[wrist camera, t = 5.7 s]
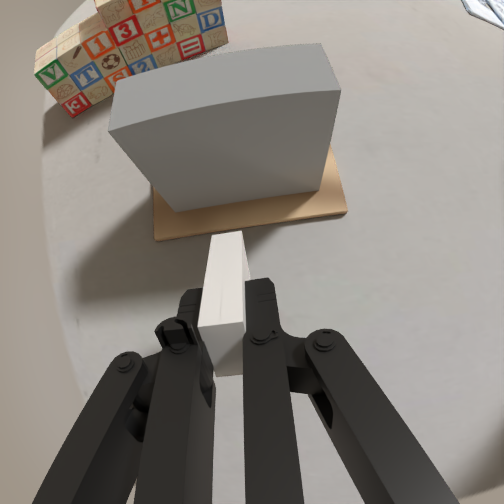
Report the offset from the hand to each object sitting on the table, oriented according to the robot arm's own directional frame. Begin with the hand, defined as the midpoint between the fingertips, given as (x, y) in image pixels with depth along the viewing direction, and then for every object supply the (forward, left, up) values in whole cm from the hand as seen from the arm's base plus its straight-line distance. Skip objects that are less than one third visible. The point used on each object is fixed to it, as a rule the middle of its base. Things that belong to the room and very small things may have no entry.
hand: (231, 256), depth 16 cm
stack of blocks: (+27, -13, -9) cm, 31 cm away
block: (+6, -6, -8) cm, 12 cm away
